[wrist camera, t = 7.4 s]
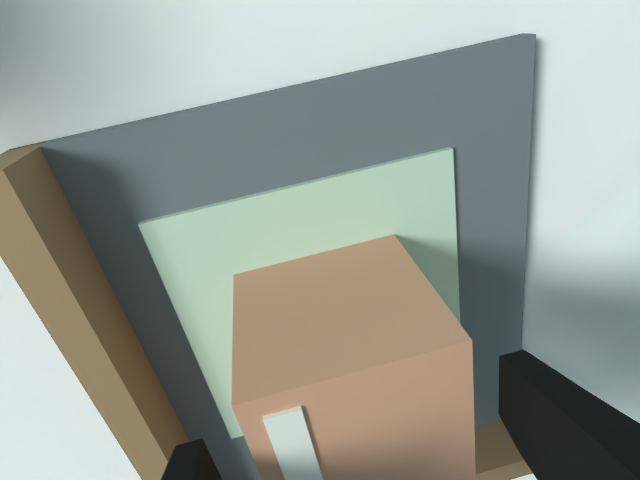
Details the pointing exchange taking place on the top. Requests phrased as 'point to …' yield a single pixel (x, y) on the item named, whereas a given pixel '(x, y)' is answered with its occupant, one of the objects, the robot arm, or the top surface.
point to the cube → (351, 369)
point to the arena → (250, 178)
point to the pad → (299, 244)
